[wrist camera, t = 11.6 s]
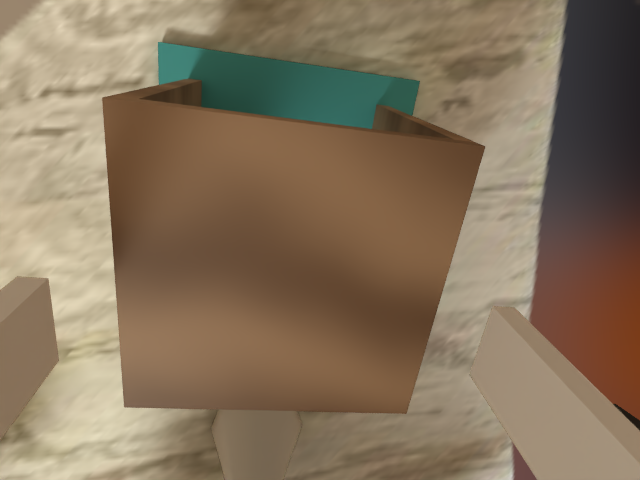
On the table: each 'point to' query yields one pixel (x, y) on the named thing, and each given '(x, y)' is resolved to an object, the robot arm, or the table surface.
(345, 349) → the brown wooden box frame
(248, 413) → the flask
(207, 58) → the mat
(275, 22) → the table surface
